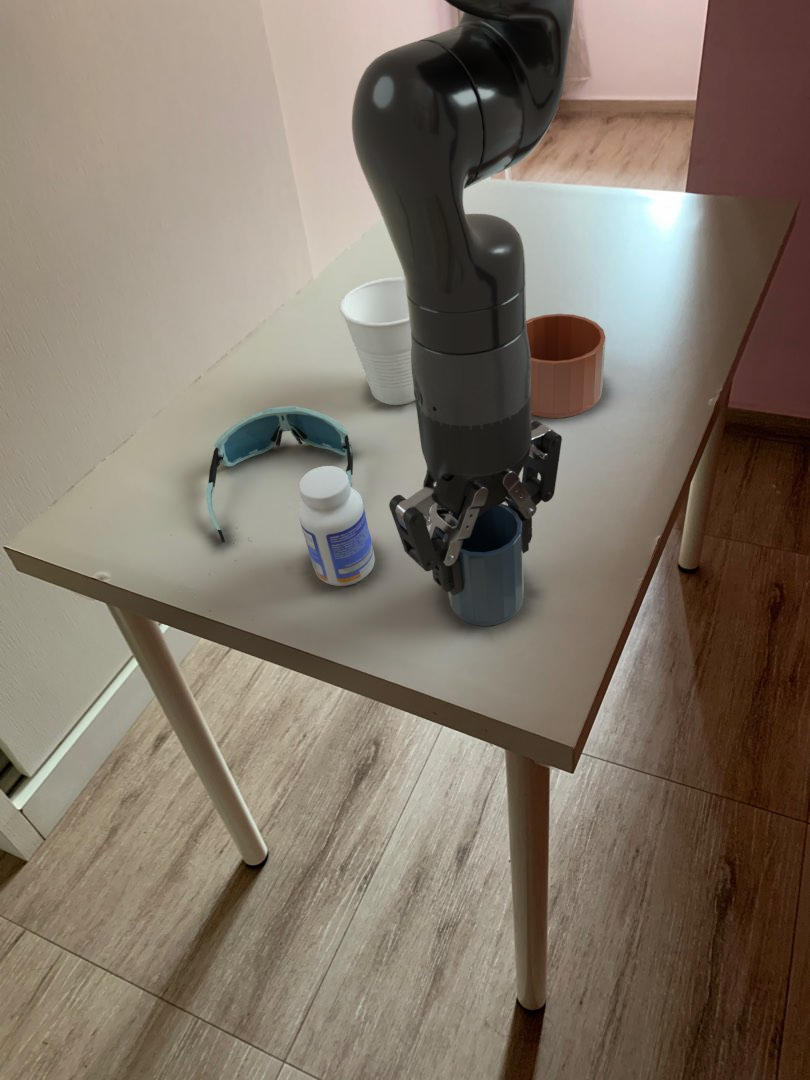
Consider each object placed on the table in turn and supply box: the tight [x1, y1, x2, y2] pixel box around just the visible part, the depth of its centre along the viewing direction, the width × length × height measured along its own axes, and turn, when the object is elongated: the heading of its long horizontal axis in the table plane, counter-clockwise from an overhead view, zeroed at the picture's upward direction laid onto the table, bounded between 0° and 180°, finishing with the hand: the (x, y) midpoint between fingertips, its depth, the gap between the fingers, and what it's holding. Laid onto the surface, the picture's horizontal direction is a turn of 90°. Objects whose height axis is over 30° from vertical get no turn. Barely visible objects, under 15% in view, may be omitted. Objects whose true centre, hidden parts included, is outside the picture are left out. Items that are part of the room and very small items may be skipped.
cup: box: [338, 276, 416, 406], centre depth 86 cm, size 10×10×11 cm
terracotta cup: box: [526, 313, 607, 419], centre depth 84 cm, size 10×10×6 cm
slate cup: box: [443, 503, 525, 627], centre depth 63 cm, size 6×6×8 cm
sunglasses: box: [205, 405, 354, 543], centre depth 78 cm, size 14×15×5 cm
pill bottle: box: [297, 465, 376, 587], centre depth 67 cm, size 5×5×10 cm
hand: (484, 566), depth 64 cm, fingers closed on slate cup, 6 cm apart
